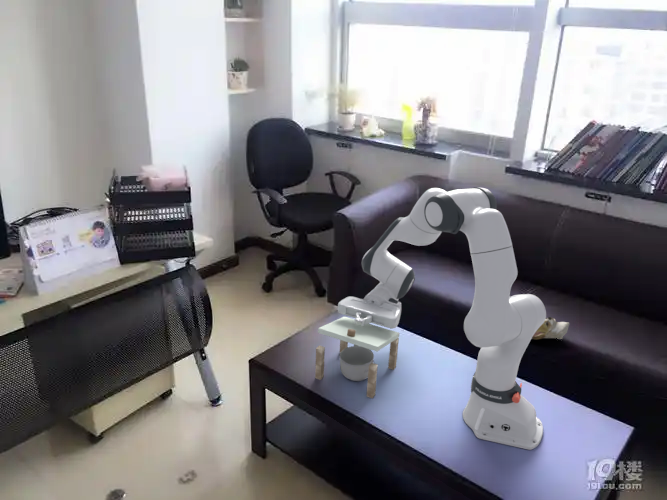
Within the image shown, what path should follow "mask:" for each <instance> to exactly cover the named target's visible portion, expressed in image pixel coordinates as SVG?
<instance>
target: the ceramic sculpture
mask: <svg viewBox="0 0 667 500" xmlns="http://www.w3.org/2000/svg"><path fill="white" fill-rule="evenodd" d="M569 327H570V322H566V321H556V319H555V318H554V317H552V316H547V317H546V319H545V321H544V323H543V324H542V325H541V326H540V327H539V328H538V330H537V331H536V332H535V334H534V335H533V337H532V338H531V340H542V339H556V338H557V339H562V340H563V339H564V337H563V336H565V335H566V334H567V333H568V329H569ZM557 339H556V340H557Z"/></svg>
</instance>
